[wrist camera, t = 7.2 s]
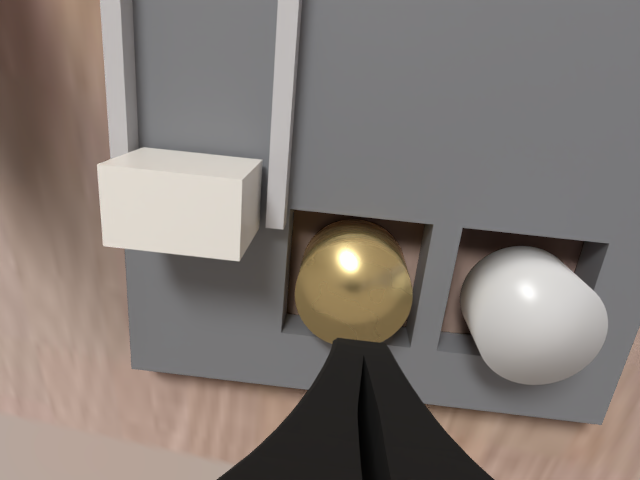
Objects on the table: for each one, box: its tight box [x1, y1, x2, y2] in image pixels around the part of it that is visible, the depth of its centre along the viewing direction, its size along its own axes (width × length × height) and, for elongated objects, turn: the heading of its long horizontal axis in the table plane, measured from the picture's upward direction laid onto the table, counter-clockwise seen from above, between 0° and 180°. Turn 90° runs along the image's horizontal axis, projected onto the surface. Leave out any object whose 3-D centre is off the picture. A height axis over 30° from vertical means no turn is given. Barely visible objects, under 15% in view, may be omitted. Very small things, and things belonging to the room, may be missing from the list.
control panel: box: [100, 0, 640, 425], centre depth 16 cm, size 19×16×2 cm
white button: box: [460, 246, 608, 385], centre depth 16 cm, size 4×4×2 cm
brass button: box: [295, 219, 413, 344], centre depth 17 cm, size 4×4×2 cm
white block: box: [97, 147, 263, 261], centre depth 14 cm, size 4×2×3 cm, turn 85°
